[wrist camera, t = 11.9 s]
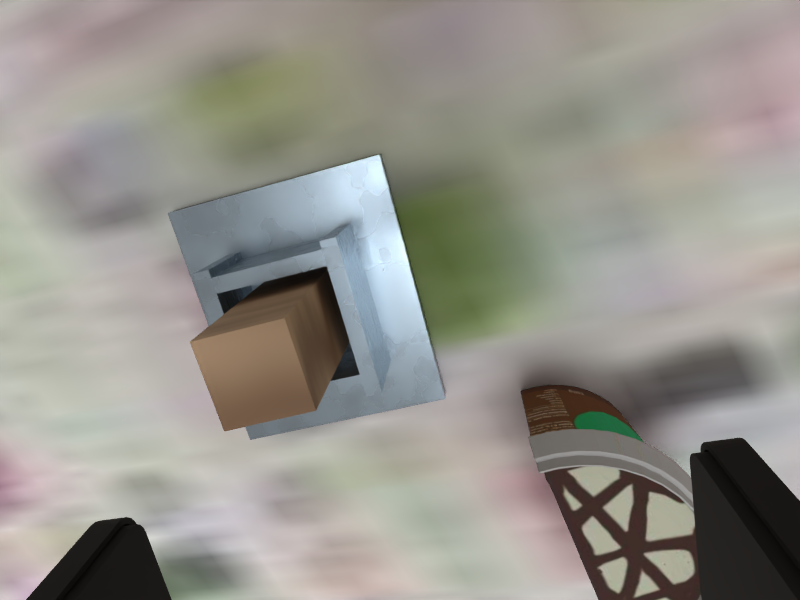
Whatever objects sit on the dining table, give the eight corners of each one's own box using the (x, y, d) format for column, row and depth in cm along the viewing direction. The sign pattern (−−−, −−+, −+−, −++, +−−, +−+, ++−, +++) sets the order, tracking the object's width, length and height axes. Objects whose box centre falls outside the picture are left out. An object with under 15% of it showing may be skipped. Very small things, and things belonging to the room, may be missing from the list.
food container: (683, 511, 36) (768, 650, 26) (583, 542, 37) (630, 686, 27) (616, 330, 33) (683, 411, 24) (511, 369, 34) (534, 461, 25)
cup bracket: (174, 211, 33) (124, 225, 28) (381, 154, 32) (367, 158, 27) (254, 433, 37) (222, 481, 32) (445, 392, 35) (444, 437, 30)
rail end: (265, 281, 33) (189, 342, 24) (333, 262, 33) (284, 318, 23) (287, 346, 34) (224, 431, 25) (354, 330, 34) (316, 410, 24)
